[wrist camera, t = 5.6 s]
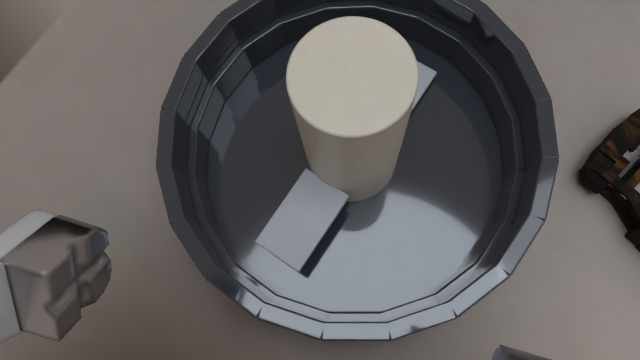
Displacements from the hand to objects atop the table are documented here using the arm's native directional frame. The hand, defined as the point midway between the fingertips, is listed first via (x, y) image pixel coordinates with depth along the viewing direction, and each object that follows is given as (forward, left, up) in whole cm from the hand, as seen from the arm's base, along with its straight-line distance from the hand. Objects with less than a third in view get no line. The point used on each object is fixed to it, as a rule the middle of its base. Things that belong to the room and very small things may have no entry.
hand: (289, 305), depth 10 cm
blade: (+5, +4, -10) cm, 12 cm away
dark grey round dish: (+5, +4, -11) cm, 12 cm away
